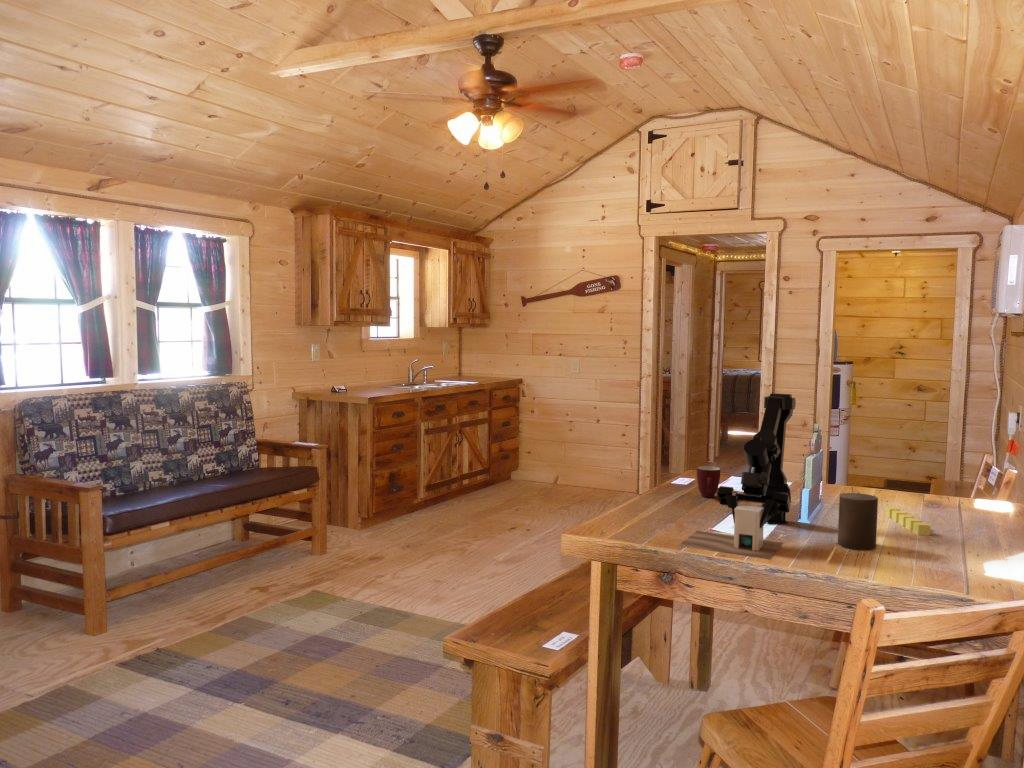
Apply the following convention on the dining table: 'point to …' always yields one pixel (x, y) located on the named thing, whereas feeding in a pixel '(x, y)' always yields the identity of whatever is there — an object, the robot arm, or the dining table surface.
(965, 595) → the dining table surface
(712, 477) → the mug
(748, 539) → the marble
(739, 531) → the cream matte box
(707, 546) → the board
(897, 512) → the yellow stair block
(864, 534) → the pillar candle
